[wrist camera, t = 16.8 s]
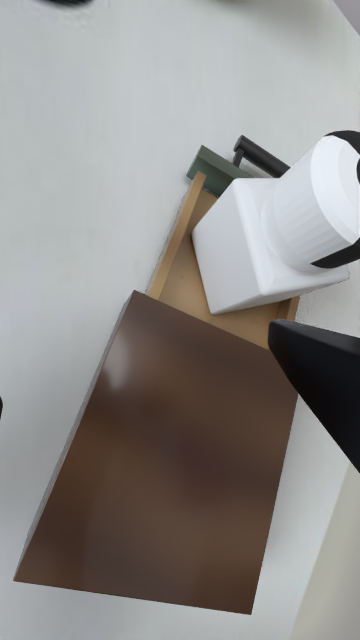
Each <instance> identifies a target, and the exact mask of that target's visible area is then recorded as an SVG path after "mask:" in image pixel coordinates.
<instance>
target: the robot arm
mask: <svg viewBox="0 0 360 640" xmlns="http://www.w3.org/2000/svg"><path fill="white" fill-rule="evenodd" d="M268 346H269V349H270V350H271V352H272V354H273V355H274V357H275V359H276V360H277V362H278V364H279V365H280V367H281V369H282V370H283V372H284V373H285V375H286V377H287V378H288V380H289V381H290V383H291V384H292V385H293V387H294V388H295V389H296V391H297V392H298V393H299V395H300V396H301V397H302V399H303V400H304V401H305V403H306V404H307V405H308V406H309V408H310V409H311V410H312V412H313V413H314V414H315V416H316V417H317V418H318V420H319V421H320V422H321V423H322V425H323V426H324V427H325V429H326V430H327V431H328V433H329V434H330V435H331V436H332V438H333V439H334V440H335V442H336V443H337V444H338V446H339V447H340V448H341V450H342V451H343V452H344V453H345V455H346V456H347V457H348V459H349V460H350V461H351V463H352V464H353V465H354V467H355V468H356V469H357V470H358V472H359V473H360V338H357V337H353V336H349V335H345V334H341V333H337V332H333V331H329V330H325V329H321V328H317V327H313V326H308V325H304V324H300V323H296V322H292V321H288V320H284V319H277V320H273V321H271V322H270V323H269V326H268ZM2 408H3V403H2V399H1V397H0V418H1V413H2Z"/></svg>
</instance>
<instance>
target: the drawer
mask: <svg viewBox="0 0 360 640" xmlns="http://www.w3.org/2000/svg"><path fill="white" fill-rule="evenodd" d="M233 151H234V152H236V153H235V156H234V158H233V161H232V163H230V162H228V161H227V160H225V159H224V158H222V157H221V156H219V155H217V154H216V153H214V152H213V151H211V150H210V149H208V148H206V147H205V146H203V145H202V146H201V147H200V149H199V151H198V153H197V155H196V157H195V158H194V160H193V162H192V164H191V166H190V168H189V170H188V173H187V177H189V178H190V179H192V182H191V183H190V185H189V187H188V189H187V191H186V194H185V196H184V199H183V201H182V204H181V206H180V209H179V211H178V214H177V216H176V219H175V221H174V224H173V226H172V229H171V231H170V234H169V236H168V238H167V241H166V243H165V246H164V248H163V251H162V253H161V256H160V258H159V261H158V263H157V266H156V268H155V271H154V273H153V276H152V278H151V281H150V283H149V286H148V288H147V291H146V293H145V295H147V296H149V297H151V298H153V299H156V300H158V301H160V302H162V303H165V304H167V305H169V306H171V307H174V308H176V309H178V310H180V311H183V312H185V313H187V314H189V315H191V316H194V317H196V318H198V319H200V320H203V321H205V322H207V323H209V324H212V325H214V326H216V327H218V328H221V329H223V330H225V331H227V332H229V333H232V334H234V335H236V336H238V337H241V338H243V339H245V340H247V341H250V342H252V343H254V344H256V345H259V346H261V347H263V348H265V349H267V350H270V349H269V346H268V326H269V323H270V322H271V321H273V320H277V319H284V320H288V321H292V322H294V320H295V316H296V311H297V307H298V303H299V299H300V295H298V296H295V297H292V298H289V299H286V300H283V301H280V302H275V303H270V304H266V305H261V306H256V307H251V308H246V309H242V310H237V311H232V312H227V313H222V314H218V315H212V314H211V313H210V310H209V306H208V302H207V298H206V294H205V290H204V286H203V281H202V277H201V273H200V269H199V265H198V261H197V257H196V253H195V249H194V245H193V241H192V237H191V232H192V230H193V229H194V228H195V226H196V225H197V224H198V223H199V221H200V220H201V219H202V218H203V217H204V215H205V214H206V213H207V212H208V210H209V209H210V208H211V207H212V206H213V204H214V203H215V202H216V201H217V200H218V198H217V197H215V196H214V195H212V194H210V193H209V192H207V191H205V190H204V189H202V187H203V186H204V187H206V188H207V189H209V190H211V191H212V192H214V193H216V194H218V195H219V196H221V195H222V193H223V192H224V191H225V190H226V189H227V187H228V186H229V185H230V184H231V182H232V181H233V180H235V179H237V178H254V177H252V176H251V175H249V174H247V173H246V172H244V171H243V170H241V169H240V168H239V165H240V162H241V159H242V157H243V158H245V159H246V160H248V161H250V162H251V163H253V164H254V165H256V166H257V167H259V168H260V169H262V170H263V171H265V172H266V173H268V174H270V175H271V176H273V177H274V178H280V177H281V176H283V175H284V174H285V173H286V172H287V171H288V170H289V169H290V168H291V167H289V166H288V165H286V164H285V163H283V162H282V161H280V160H279V159H277V158H276V157H274V156H273V155H271V154H270V153H269V152H267V151H266V150H264V149H263V148H261V147H260V146H258V145H257V144H255V143H254V142H252V141H251V140H249V139H248V138H246V137H245V136H243V135H241V136H240V138H239V139H238V141H237V143H236V144H235V147H234V150H233ZM270 351H271V350H270Z"/></svg>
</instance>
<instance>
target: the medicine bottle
mask: <svg viewBox="0 0 360 640" xmlns="http://www.w3.org/2000/svg"><path fill="white" fill-rule="evenodd" d="M191 237H192V241H193V245H194V249H195V253H196V257H197V261H198V265H199V269H200V273H201V277H202V281H203V286H204V290H205V294H206V298H207V302H208V306H209V310H210V313H211V314H212V315H218V314H222V313H227V312H232V311H237V310H242V309H246V308H251V307H256V306H261V305H266V304H270V303H275V302H280V301H283V300H286V299H289V298H292V297H295V296H298V295H302V294H305V293H308V292H311V291H314V290H317V289H320V288H323V287H326V286H330V285H333V284H336V283H339V282H342V281H345V280H347V279H348V278H349V276H350V273H349V269H348V266H347V264H348V263H350V262H353V261H356V260H358V259H360V132H356V131H349V130H347V131H336V132H332V133H329V134H327V135H325V136H324V137H323V138H322V139H321V140H320V141H319V142H317V143H316V144H315V145H314V146H313V147H312V148H311V149H310V150H309V151H308V152H307V153H306V154H305V155H304V156H303V157H302V158H301V159H299V160H298V161H297V162H296V163H295V164H294V165H293V166H292V167H291V168H290V169H289V170H288V171H287V172H286V173H285V174H284V175H283V176H281V177H280V178H237V179H235V180H233V181H232V182H231V184H230V185H229V186H228V187H227V189H226V190H225V191H224V192H223V193H222V195H221V196H220V197H219V198H218V200H217V201H216V202H215V203H214V204H213V206H212V207H211V208H210V209H209V210H208V212H207V213H206V214H205V215H204V217H203V218H202V219H201V220H200V221H199V223H198V224H197V225H196V226H195V228H194V229H193V230H192V232H191Z"/></svg>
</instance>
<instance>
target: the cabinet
mask: <svg viewBox="0 0 360 640" xmlns="http://www.w3.org/2000/svg"><path fill="white" fill-rule="evenodd" d="M297 397H298V392H297V391H296V389H295V388H294V387H293V385H292V384H291V383H290V381H289V380H288V378H287V377H286V375H285V373H284V372H283V370H282V369H281V367H280V365H279V364H278V362H277V360H276V359H275V357H274V355H273V354H272V352H271V351H270V350H267V349H265V348H263V347H261V346H259V345H256V344H254V343H252V342H250V341H247V340H245V339H243V338H241V337H238V336H236V335H234V334H232V333H229V332H227V331H225V330H223V329H221V328H218V327H216V326H214V325H212V324H209V323H207V322H205V321H203V320H200V319H198V318H196V317H194V316H191V315H189V314H187V313H185V312H183V311H180V310H178V309H176V308H174V307H171V306H169V305H167V304H165V303H162V302H160V301H158V300H156V299H153V298H151V297H149V296H147V295H145V294H142V293H140V292H138V291H136V290H134V291H133V292H132V294H131V295H130V297H129V298H128V299H127V301H126V302H125V304H124V306H123V308H122V311H121V313H120V316H119V318H118V320H117V323H116V325H115V327H114V330H113V332H112V335H111V337H110V339H109V342H108V344H107V347H106V349H105V351H104V354H103V356H102V358H101V361H100V363H99V366H98V368H97V370H96V373H95V375H94V377H93V380H92V382H91V385H90V387H89V389H88V392H87V394H86V396H85V399H84V401H83V404H82V406H81V408H80V411H79V413H78V415H77V418H76V420H75V423H74V425H73V427H72V430H71V432H70V434H69V437H68V439H67V442H66V444H65V446H64V449H63V451H62V453H61V456H60V458H59V461H58V463H57V465H56V468H55V470H54V473H53V475H52V477H51V480H50V482H49V484H48V487H47V489H46V492H45V494H44V496H43V499H42V501H41V503H40V506H39V508H38V511H37V513H36V515H35V518H34V520H33V522H32V525H31V527H30V530H29V532H28V535H27V538H26V541H25V544H24V548H23V551H22V554H21V557H20V560H19V563H18V566H17V569H16V572H15V576H14V579H13V581H16V582H23V583H30V584H37V585H45V586H52V587H59V588H66V589H73V590H80V591H87V592H94V593H101V594H108V595H115V596H122V597H129V598H136V599H143V600H150V601H157V602H164V603H171V604H178V605H185V606H192V607H199V608H206V609H213V610H220V611H227V612H234V613H241V614H248V615H251V613H252V608H253V604H254V599H255V594H256V589H257V585H258V580H259V575H260V571H261V566H262V561H263V557H264V552H265V547H266V543H267V538H268V533H269V529H270V524H271V519H272V514H273V510H274V505H275V500H276V496H277V491H278V486H279V482H280V477H281V472H282V468H283V463H284V458H285V453H286V449H287V444H288V439H289V435H290V430H291V425H292V421H293V416H294V411H295V407H296V402H297Z"/></svg>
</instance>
